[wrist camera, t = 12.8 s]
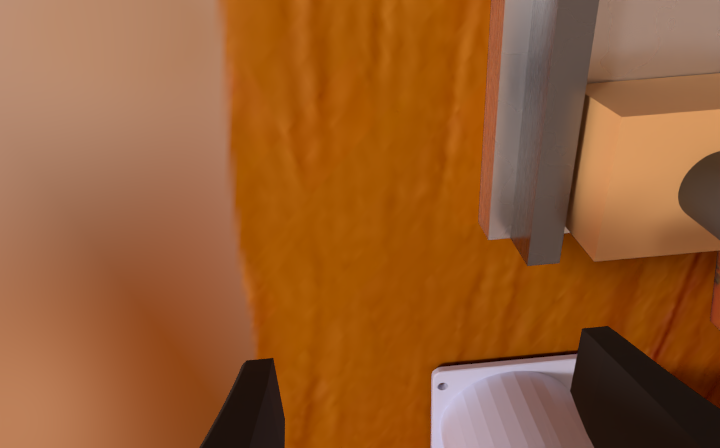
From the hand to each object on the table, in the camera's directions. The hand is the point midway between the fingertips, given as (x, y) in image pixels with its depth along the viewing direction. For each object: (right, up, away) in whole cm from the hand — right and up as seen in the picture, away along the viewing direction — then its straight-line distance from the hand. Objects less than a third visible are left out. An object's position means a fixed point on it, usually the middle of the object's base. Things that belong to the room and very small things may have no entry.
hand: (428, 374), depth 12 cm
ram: (+9, +6, +7) cm, 13 cm away
